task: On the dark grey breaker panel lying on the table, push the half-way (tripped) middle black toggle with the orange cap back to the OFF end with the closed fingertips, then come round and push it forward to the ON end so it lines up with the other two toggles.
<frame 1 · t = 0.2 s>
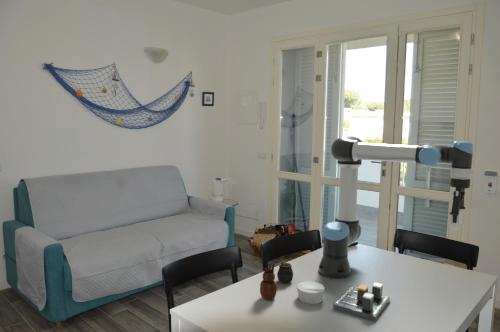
hand: (456, 226, 169), 28 cm above the table, fingers open, 13 cm apart
ramekin: (310, 299, 160), on the table
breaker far: (377, 290, 157), point 5 cm above the table, slide at 8.0 cm
panel: (361, 305, 155), on the table
mate gourd: (284, 281, 176), on the table
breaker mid: (362, 293, 154), point 5 cm above the table, slide at 4.0 cm
wooden figurine: (268, 298, 159), on the table
breaker near: (367, 301, 147), point 5 cm above the table, slide at 8.0 cm
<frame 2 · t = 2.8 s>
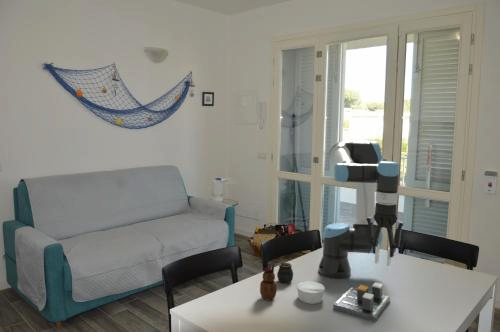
hand: (382, 263, 149), 19 cm above the table, fingers open, 4 cm apart
nothing on the table moved.
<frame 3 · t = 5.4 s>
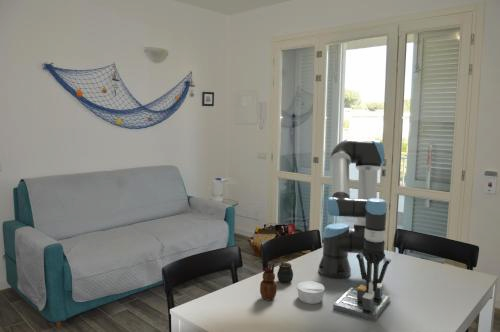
hand: (371, 298, 153), 4 cm above the table, fingers closed
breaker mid: (362, 293, 154), point 5 cm above the table, slide at 4.0 cm, touching gripper
everything else where it was.
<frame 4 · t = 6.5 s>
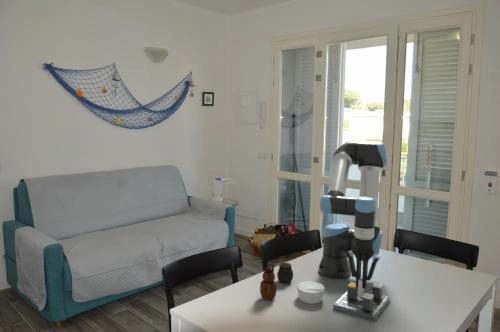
hand: (360, 295, 155), 4 cm above the table, fingers closed
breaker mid: (352, 290, 156), point 5 cm above the table, slide at 0.0 cm, touching gripper
everything else where it was.
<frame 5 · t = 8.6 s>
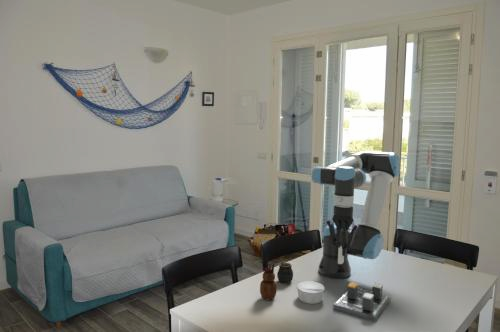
hand: (340, 262, 158), 15 cm above the table, fingers closed
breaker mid: (352, 290, 156), point 5 cm above the table, slide at 0.0 cm
everything else where it was.
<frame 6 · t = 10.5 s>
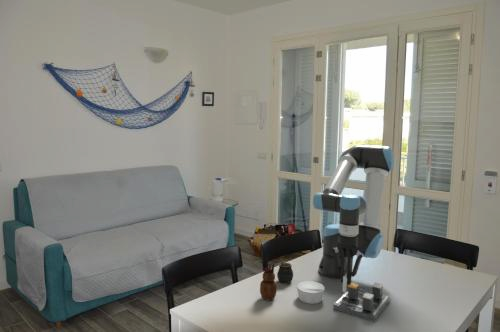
hand: (345, 291, 158), 4 cm above the table, fingers closed
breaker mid: (353, 290, 156), point 5 cm above the table, slide at 0.3 cm, touching gripper
everything else where it was.
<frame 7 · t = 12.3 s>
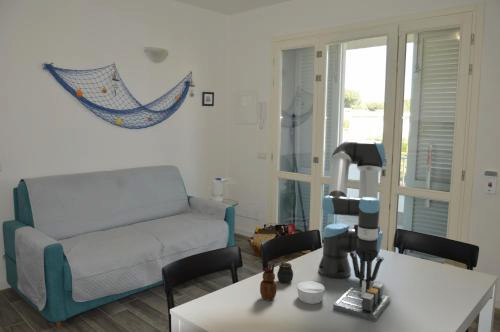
hand: (364, 296, 154), 4 cm above the table, fingers closed
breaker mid: (372, 295, 152), point 5 cm above the table, slide at 8.0 cm, touching gripper
everything else where it was.
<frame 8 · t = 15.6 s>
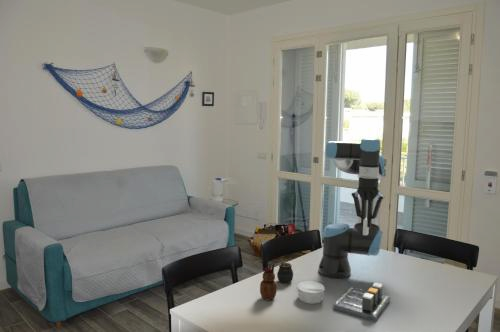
hand: (365, 234, 160), 26 cm above the table, fingers closed
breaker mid: (372, 295, 152), point 5 cm above the table, slide at 8.0 cm
everything else where it was.
at the end: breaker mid slide at 8.0 cm; breaker near slide at 8.0 cm; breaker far slide at 8.0 cm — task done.
